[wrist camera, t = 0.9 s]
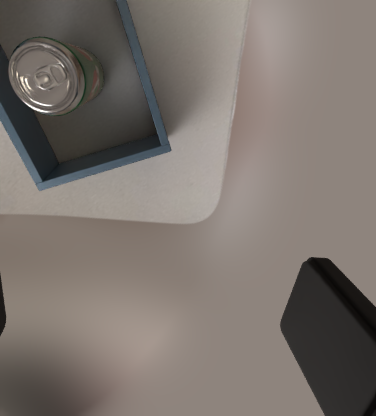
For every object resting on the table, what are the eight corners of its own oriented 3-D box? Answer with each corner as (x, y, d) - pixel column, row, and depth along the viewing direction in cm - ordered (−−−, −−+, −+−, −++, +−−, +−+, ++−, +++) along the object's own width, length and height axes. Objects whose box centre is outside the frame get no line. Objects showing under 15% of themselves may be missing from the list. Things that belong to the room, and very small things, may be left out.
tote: (-35, -8, 26) (-81, -27, 21) (110, -51, 26) (101, -82, 21) (55, 171, 34) (39, 191, 29) (167, 138, 34) (171, 151, 29)
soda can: (43, 58, 29) (-16, 52, 18) (90, 39, 29) (57, 22, 18) (69, 108, 31) (30, 129, 21) (113, 90, 31) (96, 102, 21)
